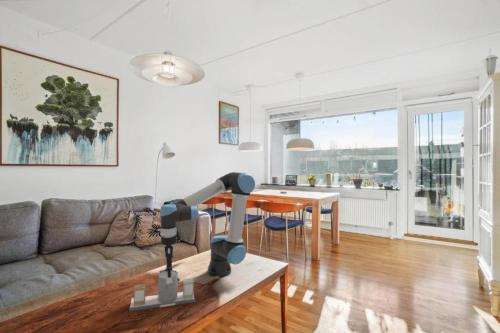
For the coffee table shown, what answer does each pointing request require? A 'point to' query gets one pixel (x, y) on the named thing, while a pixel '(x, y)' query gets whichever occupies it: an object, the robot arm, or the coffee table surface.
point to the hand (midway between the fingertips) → (169, 276)
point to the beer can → (167, 287)
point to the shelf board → (154, 303)
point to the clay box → (139, 294)
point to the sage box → (188, 288)
